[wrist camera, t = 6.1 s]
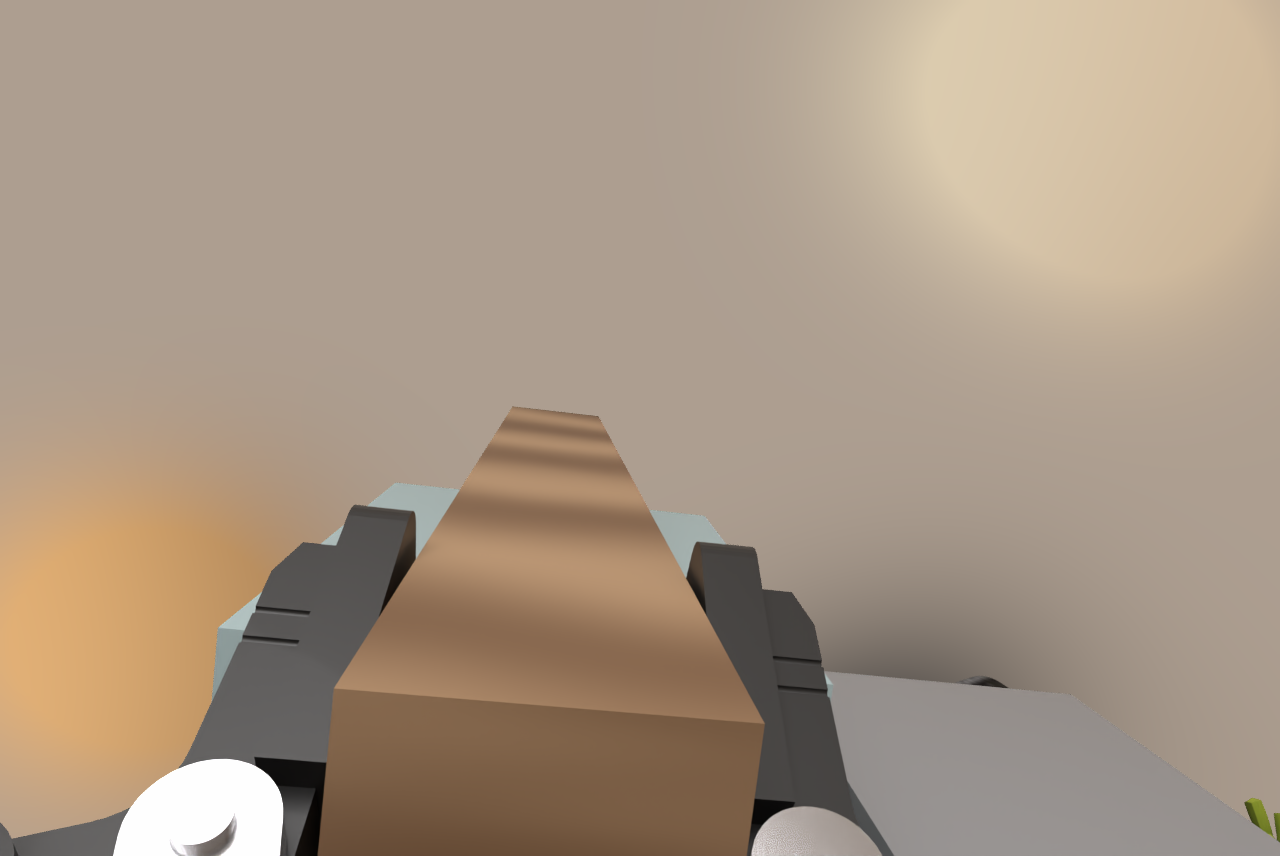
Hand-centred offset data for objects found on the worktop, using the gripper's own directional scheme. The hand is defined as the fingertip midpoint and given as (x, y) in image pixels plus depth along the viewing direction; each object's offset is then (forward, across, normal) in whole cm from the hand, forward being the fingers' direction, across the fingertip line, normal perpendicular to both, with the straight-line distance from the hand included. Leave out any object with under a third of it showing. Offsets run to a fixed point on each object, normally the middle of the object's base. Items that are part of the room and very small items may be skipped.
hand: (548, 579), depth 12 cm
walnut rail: (+6, 0, +7) cm, 10 cm away
